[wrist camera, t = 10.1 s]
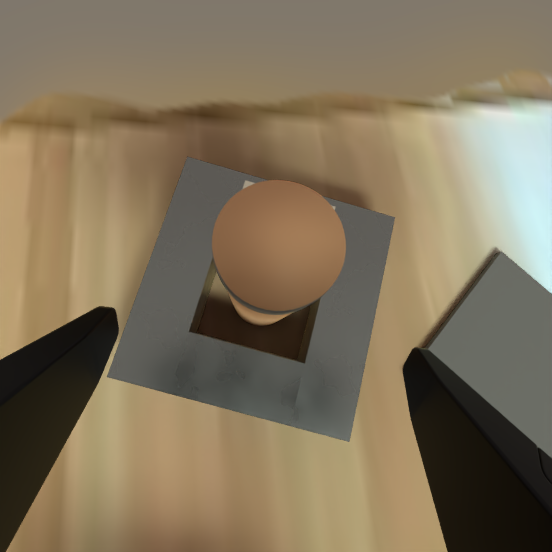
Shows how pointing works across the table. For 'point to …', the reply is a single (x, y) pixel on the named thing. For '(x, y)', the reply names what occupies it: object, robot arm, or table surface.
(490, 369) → the mat
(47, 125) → the table surface
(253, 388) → the flange plate
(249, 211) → the peg
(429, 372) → the robot arm
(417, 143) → the table surface
